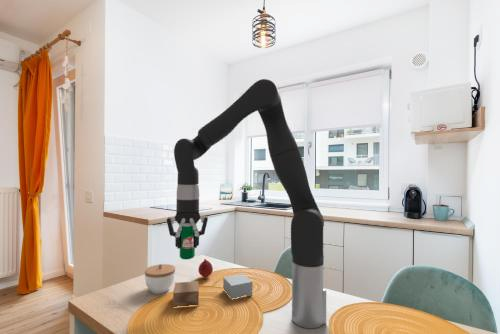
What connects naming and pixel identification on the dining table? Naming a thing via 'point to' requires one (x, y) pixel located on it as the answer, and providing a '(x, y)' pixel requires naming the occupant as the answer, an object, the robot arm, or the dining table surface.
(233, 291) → the grey block
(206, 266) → the onion
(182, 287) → the walnut block
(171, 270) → the lidded jar
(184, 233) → the soda can
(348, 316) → the dining table surface
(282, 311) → the dining table surface
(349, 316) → the dining table surface
